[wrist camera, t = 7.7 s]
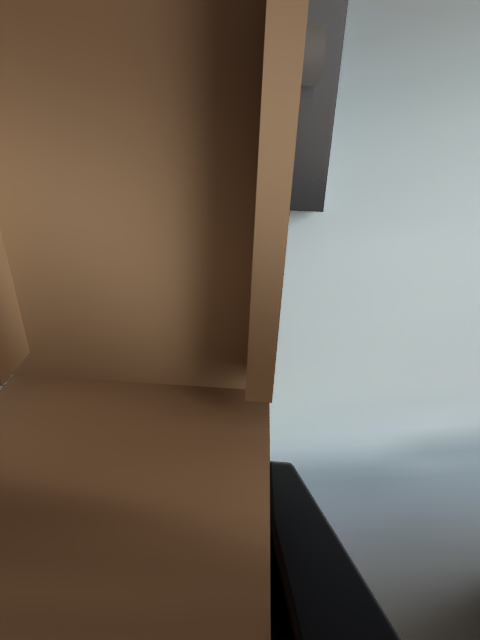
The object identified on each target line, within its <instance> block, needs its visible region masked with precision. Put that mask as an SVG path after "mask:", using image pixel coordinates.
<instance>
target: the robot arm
mask: <svg viewBox="0 0 480 640" xmlns="http://www.w3.org/2000/svg"><path fill="white" fill-rule="evenodd" d="M270 613H271V640H401V639H400V637H399V636H398V634H397V632H396V631H395V629H394V627H393V626H392V624H391V623H390V621H389V619H388V618H387V616H386V615H385V613H384V611H383V610H382V608H381V606H380V605H379V603H378V602H377V600H376V598H375V597H374V595H373V594H372V592H371V590H370V589H369V587H368V585H367V584H366V582H365V581H364V579H363V577H362V576H361V574H360V573H359V571H358V569H357V568H356V566H355V564H354V563H353V561H352V560H351V558H350V556H349V555H348V553H347V551H346V550H345V548H344V547H343V545H342V543H341V542H340V540H339V539H338V537H337V535H336V534H335V532H334V530H333V529H332V527H331V526H330V524H329V522H328V521H327V519H326V518H325V516H324V514H323V513H322V511H321V509H320V508H319V506H318V505H317V503H316V501H315V500H314V498H313V497H312V495H311V493H310V492H309V490H308V488H307V487H306V485H305V484H304V482H303V480H302V479H301V477H300V475H299V474H298V472H297V471H296V469H295V467H294V466H293V465H292V464H291V463H288V462H274V461H270Z"/></svg>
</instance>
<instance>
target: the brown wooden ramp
mask: <svg viewBox="0 0 480 640" xmlns="http://www.w3.org/2000/svg"><path fill="white" fill-rule="evenodd" d="M308 6H309V0H0V386H3V385H4V383H5V382H6V381H7V380H8V379H9V377H10V376H11V375H12V374H13V376H12V377H11V378H10V379H9V380H8V382H7V383H6V384H5V385H4V387H3V388H2V389H1V390H0V640H271V613H270V433H269V402H270V403H272V395H273V384H274V373H275V362H276V352H277V341H278V330H279V319H280V308H281V298H282V287H283V276H284V265H285V254H286V244H287V233H288V222H289V211H290V201H291V190H292V179H293V168H294V157H295V147H296V136H297V125H298V114H299V103H300V93H301V85H302V86H319V84H320V81H321V76H322V71H323V64H324V56H325V46H326V25H322V24H307V17H308Z"/></svg>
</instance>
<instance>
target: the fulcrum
mask: <svg viewBox="0 0 480 640" xmlns="http://www.w3.org/2000/svg"><path fill="white" fill-rule="evenodd" d="M347 6H348V0H309V6H308V17H307V24H322V25H326V46H325V56H324V64H323V71H322V76H321V81H320V84H319V86H302V85H301V93H300V103H299V114H298V125H297V136H296V147H295V157H294V168H293V179H292V190H291V201H290V210H297V211H316V212H323V208H324V199H325V191H326V182H327V174H328V166H329V157H330V149H331V140H332V132H333V124H334V115H335V107H336V98H337V90H338V82H339V73H340V65H341V56H342V48H343V40H344V31H345V23H346V14H347Z"/></svg>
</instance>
